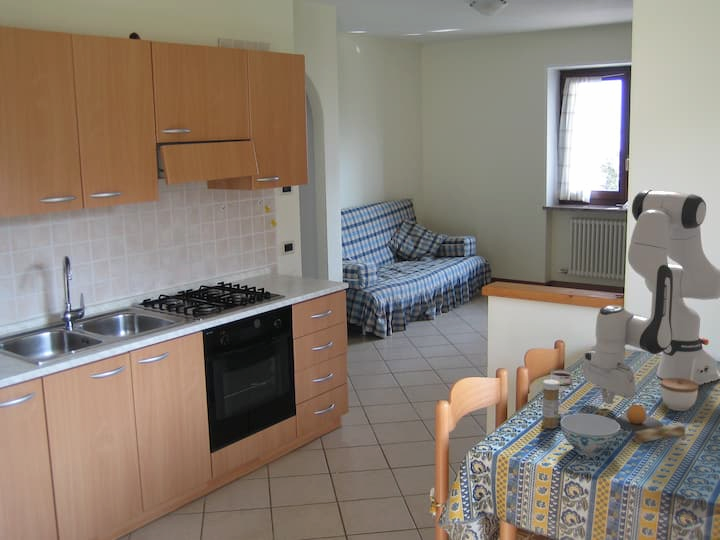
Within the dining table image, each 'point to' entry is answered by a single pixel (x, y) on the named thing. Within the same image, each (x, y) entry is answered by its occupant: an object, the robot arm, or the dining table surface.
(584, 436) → the chinaware
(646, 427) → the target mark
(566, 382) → the wineglass
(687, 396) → the lidded jar
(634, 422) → the ball
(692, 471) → the dining table surface
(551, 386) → the sprinkles bottle
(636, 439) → the stopper strip
